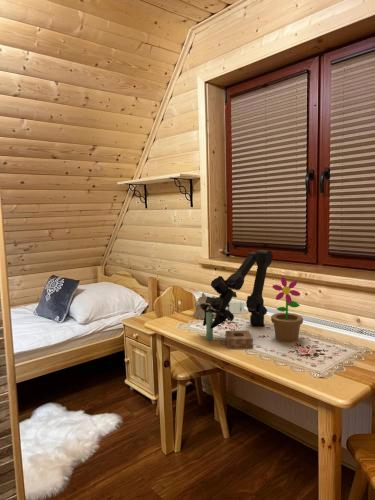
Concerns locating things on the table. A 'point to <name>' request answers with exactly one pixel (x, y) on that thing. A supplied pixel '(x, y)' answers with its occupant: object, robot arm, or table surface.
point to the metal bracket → (236, 308)
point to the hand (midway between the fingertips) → (207, 326)
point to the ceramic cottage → (199, 312)
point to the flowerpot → (286, 315)
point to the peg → (209, 326)
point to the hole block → (239, 339)
